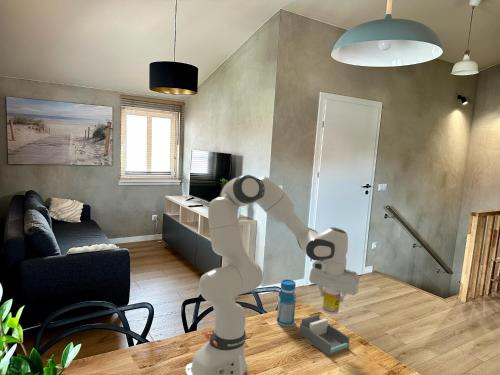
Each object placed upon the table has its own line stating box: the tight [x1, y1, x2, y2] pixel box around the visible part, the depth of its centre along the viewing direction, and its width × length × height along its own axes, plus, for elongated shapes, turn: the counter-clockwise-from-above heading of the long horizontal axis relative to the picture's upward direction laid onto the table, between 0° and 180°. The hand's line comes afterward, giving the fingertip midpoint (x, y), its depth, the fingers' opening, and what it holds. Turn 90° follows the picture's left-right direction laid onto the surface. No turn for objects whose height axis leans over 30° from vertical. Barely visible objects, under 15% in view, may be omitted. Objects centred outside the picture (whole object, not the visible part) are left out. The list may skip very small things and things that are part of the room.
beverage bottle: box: [276, 279, 297, 327], centre depth 159 cm, size 8×8×20 cm
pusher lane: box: [299, 313, 350, 357], centre depth 146 cm, size 12×18×7 cm, turn 33°
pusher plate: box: [309, 318, 329, 335], centre depth 149 cm, size 9×2×6 cm, turn 123°
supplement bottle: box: [321, 283, 342, 315], centre depth 141 cm, size 7×7×13 cm
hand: (331, 298), depth 142 cm, fingers closed on supplement bottle, 6 cm apart
